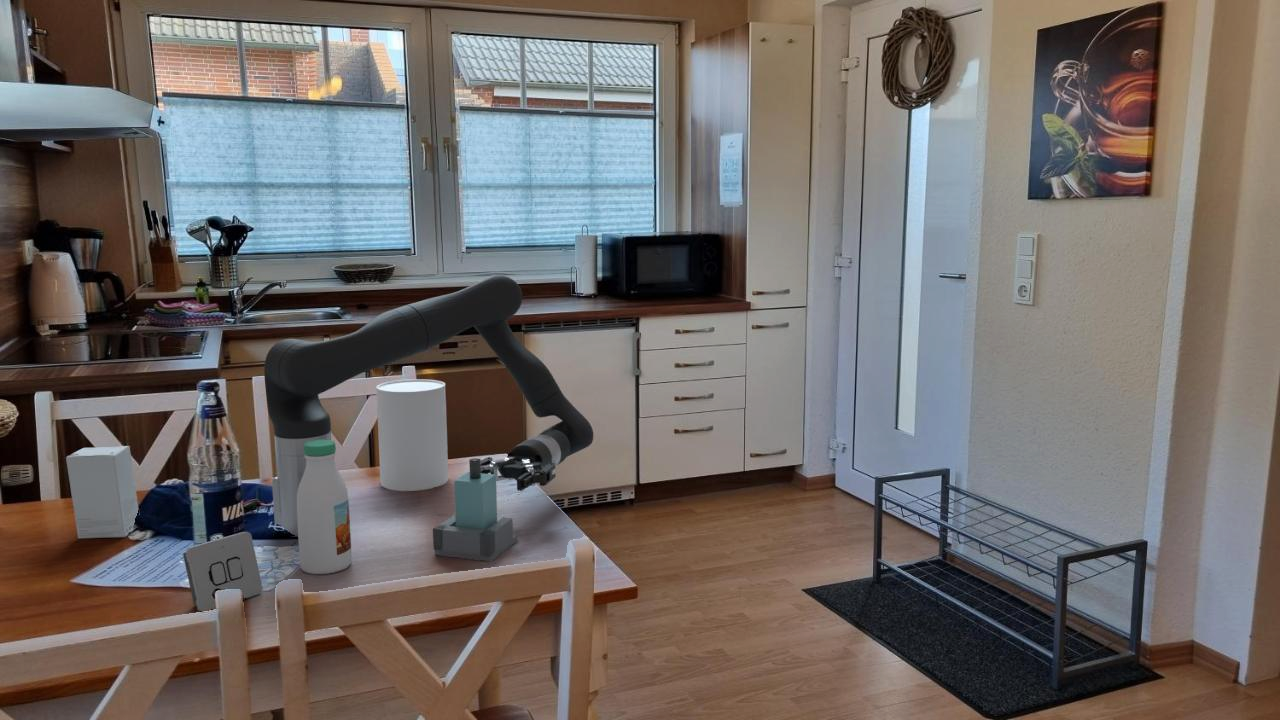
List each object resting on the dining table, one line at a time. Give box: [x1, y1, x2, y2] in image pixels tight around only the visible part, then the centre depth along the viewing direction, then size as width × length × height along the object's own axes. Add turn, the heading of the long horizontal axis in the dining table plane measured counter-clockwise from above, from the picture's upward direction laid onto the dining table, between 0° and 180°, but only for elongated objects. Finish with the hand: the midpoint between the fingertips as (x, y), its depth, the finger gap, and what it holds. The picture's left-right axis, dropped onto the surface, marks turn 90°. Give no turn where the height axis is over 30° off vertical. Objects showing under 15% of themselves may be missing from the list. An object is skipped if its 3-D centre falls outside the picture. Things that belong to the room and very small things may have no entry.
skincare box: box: [65, 445, 140, 539], centre depth 161 cm, size 8×6×15 cm
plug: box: [453, 457, 498, 530], centre depth 154 cm, size 5×5×14 cm
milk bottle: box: [297, 439, 353, 575], centre depth 146 cm, size 8×8×20 cm
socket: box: [432, 514, 518, 563], centre depth 155 cm, size 10×10×4 cm
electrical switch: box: [182, 531, 263, 612], centre depth 135 cm, size 9×5×9 cm, turn 141°
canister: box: [375, 378, 449, 492], centre depth 191 cm, size 14×14×20 cm
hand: (496, 482), depth 161 cm, fingers open, 8 cm apart
